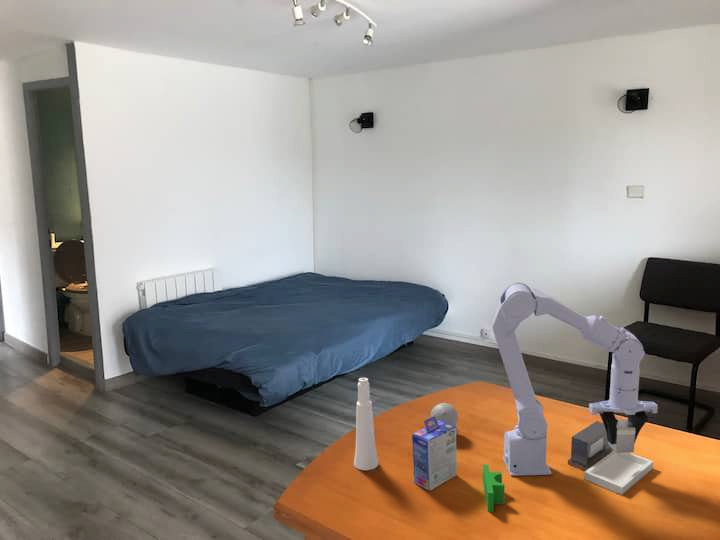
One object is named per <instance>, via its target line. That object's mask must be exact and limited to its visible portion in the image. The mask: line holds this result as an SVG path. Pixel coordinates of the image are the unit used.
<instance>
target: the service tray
mask: <svg viewBox="0 0 720 540" xmlns="http://www.w3.org/2000/svg"><path fill="white" fill-rule="evenodd" d="M653 469H654V461H653V460H651V459H648V458H646V457H643V456H640V455H637V454H634V453H633V452H628V453H616V452H615V451H612V452H611V453H610V454H608V455H607V456H606V457H604V458H603V459H601V460H600V461H599V462H597V463H596V464H595V465H593V466H592V467H591V468H589V469H588V470H586V471H584V473H583V474H584V475H583V476H584V477H583V480H586V481H587V482H590V483H592V484H594V485H597V486H599V487H602V488H604V489H607V490H609V491H611V492H613V493H616V494H619V495H621V496H623V495H624V494H626V492H627V491H629V490H630V489H631V488H632V487H633V486H634V485H636V484H637V483H638V482H639V481H640V480H641V479H642V478H644V477H645V476H646V475H647V474H648V473H650V472H651V471H652V470H653Z"/></svg>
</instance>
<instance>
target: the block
mask: <svg viewBox="0 0 720 540" xmlns="http://www.w3.org/2000/svg"><path fill="white" fill-rule="evenodd" d="M617 420H618V423H617V426H616V431H615V443H614V444H610V443H609V442H608V444H609V445H610V446H611V448H612V449H613V450H614V451H615V452H616V453H628V452H629V453H634V452H635V444H634V442H635V443H636V441H635V431H636V430H635V427H634V426H633V425H632V424H631V423H630V422H629V421H628V419H617Z"/></svg>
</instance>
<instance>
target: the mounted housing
mask: <svg viewBox="0 0 720 540" xmlns="http://www.w3.org/2000/svg"><path fill="white" fill-rule="evenodd" d="M608 442H609V441H608V440H607V433H606V429H605V426H604V423H603V421H602V422H601V421H598V420H596V421H595V422H593V423H591V424H590V425H588V426H586V427H585V428H584V429H582V430H580V431H579V432H576V433H575V434H574V435H572V436H571V447H570V448H571V449H570V458H569V459H568V460H567V465H568V466H569V465H570V466H572V467H573V468H577V469H579V470H581V471H583V472H585V471H586V470H588V469H589V468H591V467H592V466H593V465H595V464H596V463H597V462H599V461H600V460H601V459H603V458H604V457H606V456H607V455H608V454H610V453H611V452H612V451H614V450H613V449H612V448H611V446H610V445H609V444H608Z"/></svg>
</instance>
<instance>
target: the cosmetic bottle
mask: <svg viewBox="0 0 720 540" xmlns="http://www.w3.org/2000/svg"><path fill="white" fill-rule="evenodd" d="M370 394H371V393H370V382H369V379H368V378H367V377H360V378H358V383H357V402H356V413H355V414H356V416H355V418H356V419H355V420H356V421H355V423H356V425H355V426H356V427H355V428H356V429H355V451H354V452H355V453H354V459H353V460H354V461H353V466H354V467H355V468H356V469H358V470H359V471H371V470H375V469H376V468H377V467H378V466H379V458H378V455H377V446H376V439H375V437H376V436H375V426H374V413H373V405H372V404H373V403H372V401H371V400H370V399H371V395H370Z"/></svg>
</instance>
